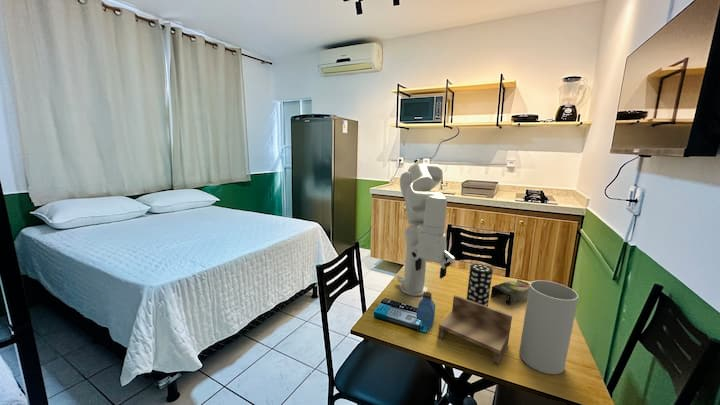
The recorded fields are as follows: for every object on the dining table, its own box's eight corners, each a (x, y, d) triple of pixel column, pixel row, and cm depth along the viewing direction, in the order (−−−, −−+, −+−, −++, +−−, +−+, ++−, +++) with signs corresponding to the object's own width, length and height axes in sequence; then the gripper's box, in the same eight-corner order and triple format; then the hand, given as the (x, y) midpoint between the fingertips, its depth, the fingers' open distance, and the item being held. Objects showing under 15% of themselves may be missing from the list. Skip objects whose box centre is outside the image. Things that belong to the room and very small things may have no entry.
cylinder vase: (520, 367, 90) (532, 294, 86) (517, 343, 102) (527, 277, 97) (568, 381, 86) (583, 304, 81) (559, 354, 97) (572, 285, 92)
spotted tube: (488, 320, 115) (495, 273, 111) (466, 317, 116) (472, 270, 113) (484, 309, 123) (490, 265, 119) (463, 306, 124) (468, 262, 121)
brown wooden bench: (437, 338, 103) (440, 308, 101) (451, 322, 113) (454, 294, 111) (497, 366, 91) (502, 333, 88) (507, 345, 101) (512, 315, 98)
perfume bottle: (432, 328, 108) (434, 299, 106) (415, 324, 111) (417, 295, 108) (434, 319, 114) (436, 291, 112) (418, 316, 116) (420, 288, 114)
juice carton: (515, 287, 144) (517, 276, 142) (535, 296, 135) (537, 284, 134) (489, 297, 134) (491, 285, 133) (509, 308, 125) (511, 295, 124)
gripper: (407, 226, 107) (404, 269, 111) (452, 236, 97) (448, 284, 100) (417, 223, 113) (414, 264, 117) (460, 232, 103) (456, 277, 106)
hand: (429, 273), depth 108 cm, fingers open, 9 cm apart
